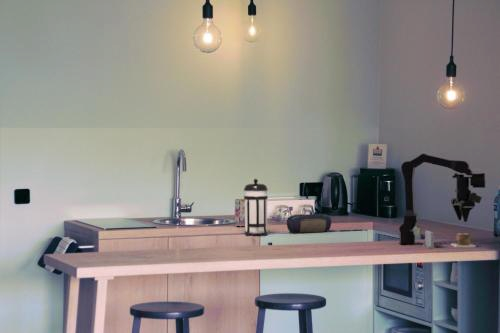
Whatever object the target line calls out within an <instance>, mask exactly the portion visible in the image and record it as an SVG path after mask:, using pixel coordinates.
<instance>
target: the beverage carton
mask: <svg viewBox="0 0 500 333" xmlns="http://www.w3.org/2000/svg"><path fill="white" fill-rule="evenodd" d="M403 224H404V223H401V224H400V226H401V225H403ZM412 231H414V235H415V240H417V239H418V240H421V234H422V233H421V231H422V230H421V227H420V226H419V225H418V224H417V225H416V226H415V227H414V228H413V230H412Z"/></svg>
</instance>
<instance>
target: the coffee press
mask: <svg viewBox="0 0 500 333" xmlns="http://www.w3.org/2000/svg"><path fill="white" fill-rule="evenodd" d="M243 191H244V195H243V199H245V227H244V234H245V236H246V237H250V236H251V235H252V234H259V235H260V234H262V235H263V236H264V237H267V236H268V235H269V234H268V232H267V231H268V191H269V190H268V187H267V185H266V184H264V183H258V179H257V178H254V179H253V183H248V184H246V185H245V186H244V188H243Z"/></svg>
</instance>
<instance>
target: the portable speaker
mask: <svg viewBox="0 0 500 333" xmlns="http://www.w3.org/2000/svg"><path fill="white" fill-rule="evenodd" d="M286 227H287V230H288V231H289V232H290V233H292V234H308V233H309V234H310V233H314V234H315V233H326V232H328V231H330V229H331V227H332V217H331V216H330V215H329V214H327V213H326V214H325V213H316V214H314V213H313V214H308V213H307V214H294V215H290V216H289V217H287V219H286Z"/></svg>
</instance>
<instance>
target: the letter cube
mask: <svg viewBox="0 0 500 333" xmlns="http://www.w3.org/2000/svg"><path fill="white" fill-rule="evenodd" d="M455 234H456V236H455V239H456V243H455V244H457V245H470V244H471V234H469V233H465V232H464V233H455Z"/></svg>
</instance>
